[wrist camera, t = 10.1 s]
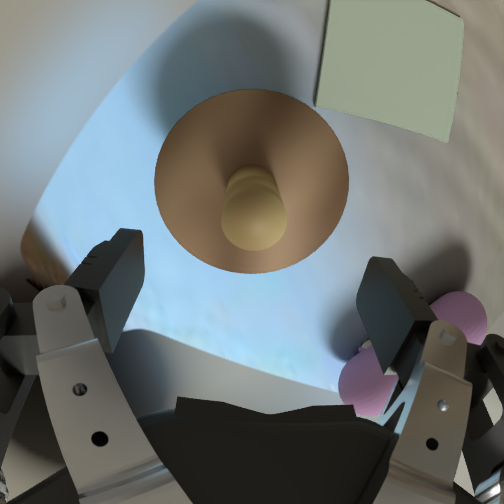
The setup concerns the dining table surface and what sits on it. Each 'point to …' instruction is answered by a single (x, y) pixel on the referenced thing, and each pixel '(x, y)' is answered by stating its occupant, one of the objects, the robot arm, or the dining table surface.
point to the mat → (392, 63)
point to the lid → (251, 181)
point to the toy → (379, 386)
